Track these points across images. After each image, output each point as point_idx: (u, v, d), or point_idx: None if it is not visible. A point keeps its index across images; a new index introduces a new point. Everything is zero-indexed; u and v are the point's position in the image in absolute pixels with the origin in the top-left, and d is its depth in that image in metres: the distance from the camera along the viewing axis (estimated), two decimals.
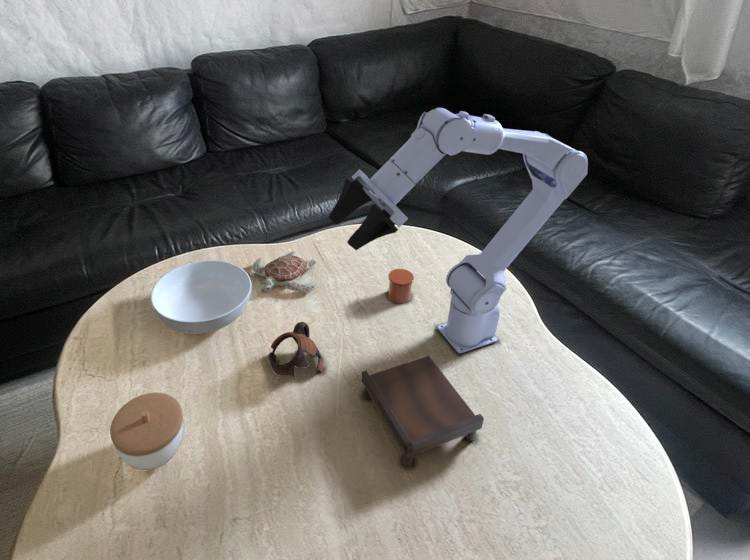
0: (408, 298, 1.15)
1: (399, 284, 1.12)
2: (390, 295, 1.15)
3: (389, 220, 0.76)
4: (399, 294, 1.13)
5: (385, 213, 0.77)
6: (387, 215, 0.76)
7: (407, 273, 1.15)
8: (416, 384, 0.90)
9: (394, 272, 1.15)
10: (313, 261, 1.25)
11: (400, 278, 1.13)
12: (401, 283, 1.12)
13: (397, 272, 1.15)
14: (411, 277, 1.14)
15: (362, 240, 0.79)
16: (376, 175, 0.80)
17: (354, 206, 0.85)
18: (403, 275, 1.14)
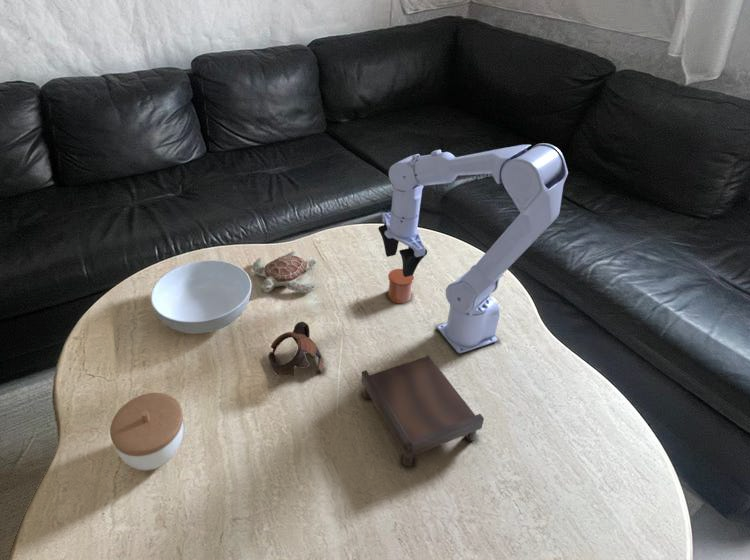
0: (408, 298, 1.15)
1: (399, 284, 1.12)
2: (390, 295, 1.15)
3: None
4: (399, 294, 1.13)
5: (410, 250, 1.04)
6: (412, 252, 1.04)
7: None
8: (416, 384, 0.90)
9: (394, 272, 1.15)
10: (313, 261, 1.25)
11: (400, 278, 1.13)
12: (401, 283, 1.12)
13: (397, 272, 1.15)
14: (411, 277, 1.14)
15: (411, 269, 1.08)
16: (390, 226, 1.07)
17: None
18: (403, 275, 1.14)
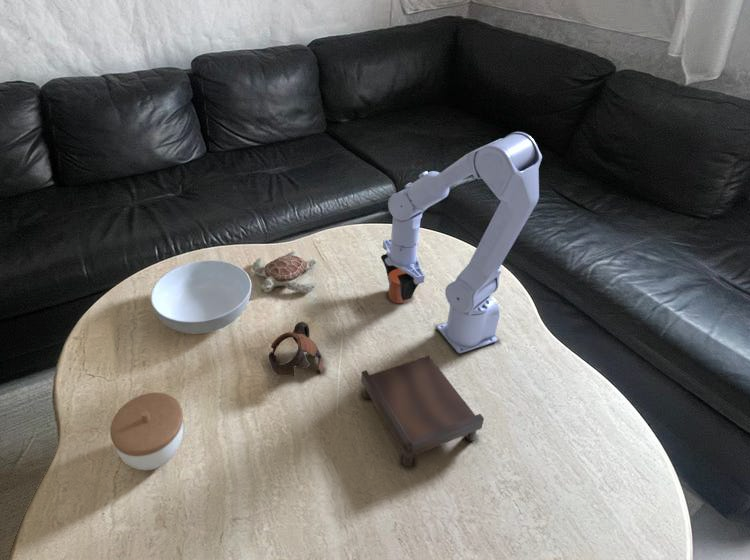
0: None
1: (399, 284, 1.12)
2: (390, 295, 1.15)
3: (413, 279, 1.08)
4: (399, 294, 1.13)
5: (408, 275, 1.09)
6: (410, 277, 1.08)
7: None
8: (416, 384, 0.90)
9: (394, 272, 1.15)
10: (313, 261, 1.25)
11: None
12: None
13: (397, 272, 1.15)
14: None
15: (409, 292, 1.12)
16: (390, 254, 1.10)
17: None
18: None
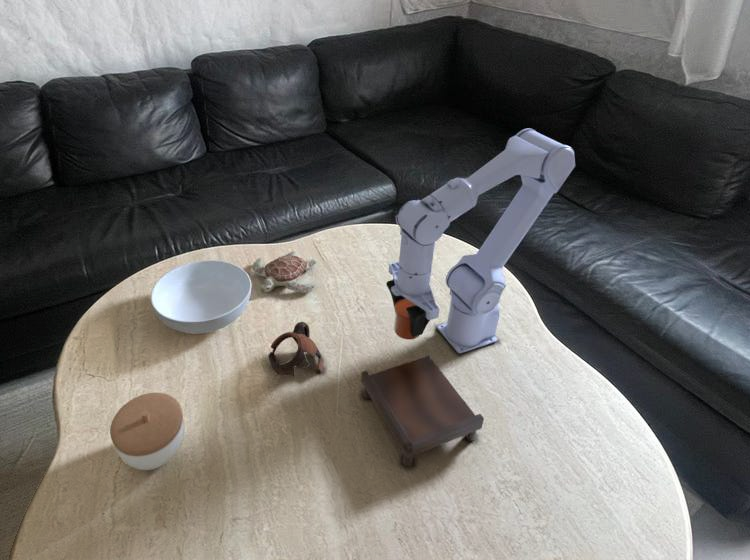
0: None
1: (408, 318, 0.93)
2: (396, 329, 0.96)
3: (425, 313, 0.89)
4: (408, 329, 0.94)
5: (419, 308, 0.90)
6: (421, 310, 0.89)
7: None
8: (416, 384, 0.90)
9: (401, 301, 0.96)
10: (313, 261, 1.25)
11: None
12: None
13: (405, 302, 0.96)
14: None
15: (420, 328, 0.93)
16: (398, 281, 0.91)
17: None
18: None
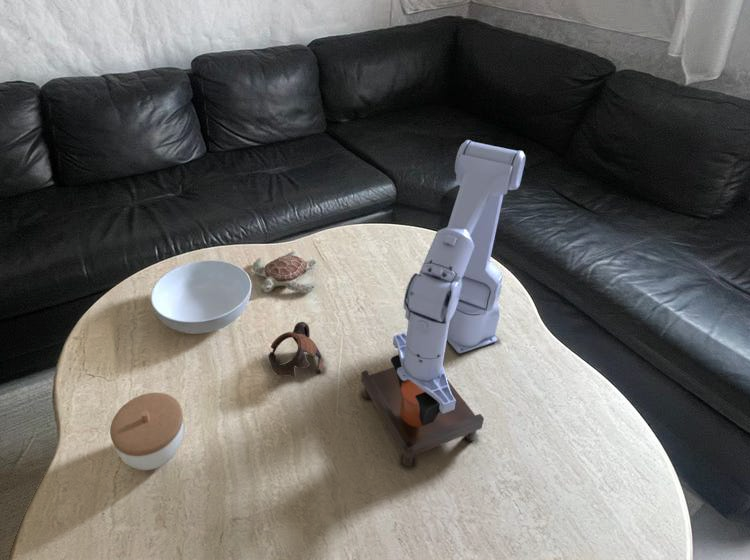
0: None
1: (416, 404, 0.78)
2: (403, 414, 0.82)
3: (438, 403, 0.74)
4: (417, 416, 0.80)
5: (431, 396, 0.75)
6: (433, 399, 0.75)
7: None
8: None
9: (408, 382, 0.82)
10: (313, 261, 1.25)
11: None
12: None
13: None
14: None
15: (431, 415, 0.79)
16: (405, 363, 0.77)
17: None
18: None
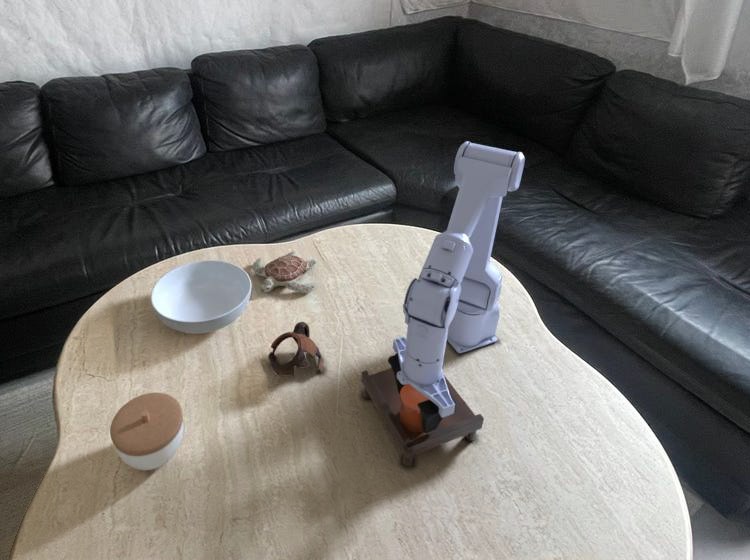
0: None
1: (416, 410, 0.79)
2: (402, 420, 0.82)
3: None
4: (416, 422, 0.80)
5: (433, 404, 0.75)
6: (436, 407, 0.74)
7: None
8: None
9: (407, 387, 0.82)
10: (313, 261, 1.25)
11: (417, 400, 0.80)
12: (418, 409, 0.79)
13: (412, 388, 0.82)
14: None
15: (434, 423, 0.78)
16: (405, 367, 0.77)
17: None
18: (421, 394, 0.81)
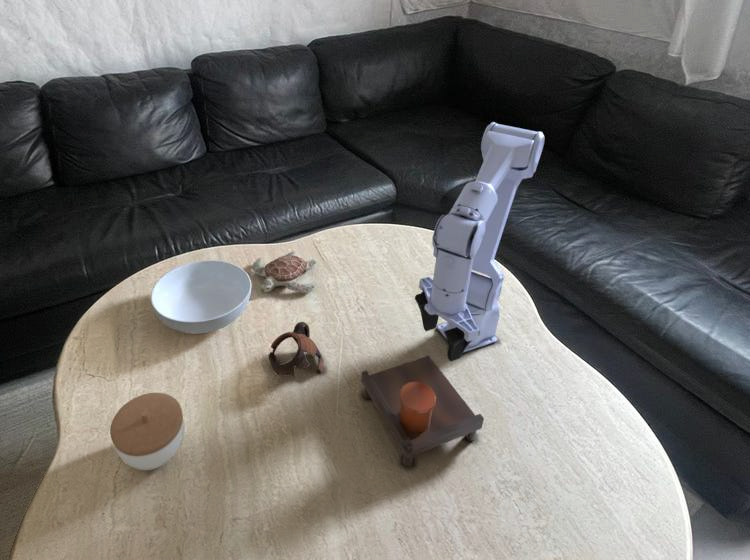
0: (428, 425, 0.82)
1: (416, 410, 0.79)
2: (402, 420, 0.82)
3: None
4: (416, 422, 0.80)
5: (459, 331, 0.83)
6: (461, 334, 0.82)
7: (426, 390, 0.82)
8: None
9: (407, 387, 0.82)
10: (313, 261, 1.25)
11: (417, 400, 0.80)
12: (418, 409, 0.79)
13: (412, 388, 0.82)
14: (432, 397, 0.81)
15: (458, 351, 0.86)
16: (432, 299, 0.85)
17: None
18: (421, 394, 0.81)
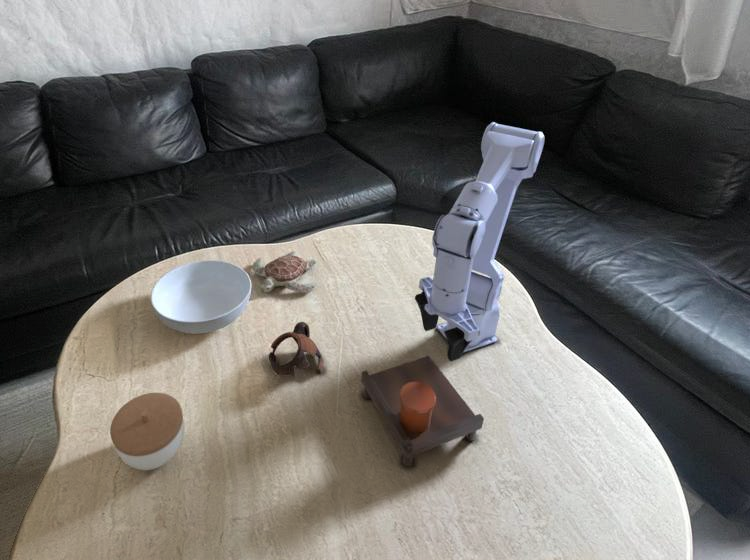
0: (428, 425, 0.82)
1: (416, 410, 0.79)
2: (402, 420, 0.82)
3: None
4: (416, 422, 0.80)
5: (459, 331, 0.83)
6: (461, 334, 0.82)
7: (426, 390, 0.82)
8: None
9: (407, 387, 0.82)
10: (313, 261, 1.25)
11: (417, 400, 0.80)
12: (418, 409, 0.79)
13: (412, 388, 0.82)
14: (432, 397, 0.81)
15: (458, 351, 0.86)
16: (432, 299, 0.85)
17: None
18: (421, 394, 0.81)
